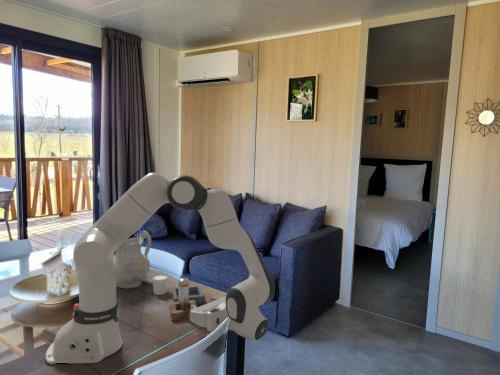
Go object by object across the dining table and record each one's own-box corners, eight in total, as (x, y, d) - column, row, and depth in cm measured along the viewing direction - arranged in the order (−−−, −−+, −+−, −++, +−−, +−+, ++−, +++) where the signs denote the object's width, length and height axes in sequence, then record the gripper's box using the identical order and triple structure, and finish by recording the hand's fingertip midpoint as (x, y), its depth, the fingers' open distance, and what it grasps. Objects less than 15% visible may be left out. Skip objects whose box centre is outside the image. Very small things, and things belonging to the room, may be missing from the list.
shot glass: (164, 296, 163) (163, 280, 162) (149, 294, 165) (149, 279, 164) (170, 290, 170) (170, 275, 169) (156, 288, 171) (156, 274, 170)
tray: (174, 307, 152) (174, 298, 152) (172, 295, 164) (172, 287, 163) (203, 304, 156) (203, 296, 155) (199, 293, 167) (199, 285, 167)
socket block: (171, 320, 140) (171, 313, 140) (169, 309, 150) (169, 302, 150) (197, 317, 143) (198, 310, 143) (194, 307, 153) (194, 300, 152)
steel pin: (178, 316, 144) (178, 281, 142) (177, 312, 148) (177, 278, 146) (189, 315, 145) (189, 280, 143) (188, 310, 149) (188, 277, 147)
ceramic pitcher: (134, 275, 191) (130, 227, 189) (163, 279, 182) (159, 229, 180) (99, 289, 172) (94, 236, 170) (129, 295, 163) (125, 239, 161)
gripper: (248, 297, 136) (222, 287, 145) (206, 315, 121) (180, 302, 130) (248, 313, 137) (222, 302, 146) (205, 333, 122) (180, 319, 131)
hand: (201, 302), depth 138 cm, fingers open, 8 cm apart
